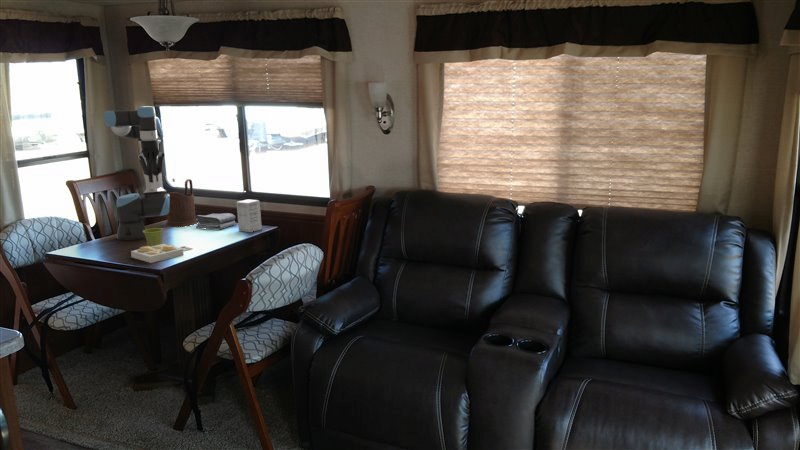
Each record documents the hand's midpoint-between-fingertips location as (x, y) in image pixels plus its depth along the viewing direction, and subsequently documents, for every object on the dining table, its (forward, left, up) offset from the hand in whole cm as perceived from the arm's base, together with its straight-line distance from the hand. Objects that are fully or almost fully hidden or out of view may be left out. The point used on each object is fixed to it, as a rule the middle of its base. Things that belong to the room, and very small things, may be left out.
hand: (154, 188), depth 289 cm
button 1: (+1, -9, -30) cm, 31 cm away
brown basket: (-51, +46, -32) cm, 75 cm away
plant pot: (-13, +4, -32) cm, 35 cm away
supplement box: (-2, +56, -32) cm, 65 cm away
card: (+4, +9, -32) cm, 33 cm away
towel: (-26, +51, -32) cm, 66 cm away
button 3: (+1, -1, -31) cm, 31 cm away
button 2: (+9, -9, -31) cm, 34 cm away
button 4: (+9, -1, -30) cm, 31 cm away
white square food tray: (+5, -5, -32) cm, 32 cm away
